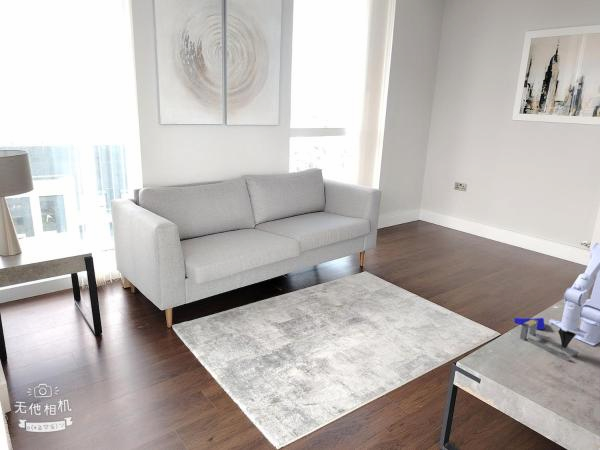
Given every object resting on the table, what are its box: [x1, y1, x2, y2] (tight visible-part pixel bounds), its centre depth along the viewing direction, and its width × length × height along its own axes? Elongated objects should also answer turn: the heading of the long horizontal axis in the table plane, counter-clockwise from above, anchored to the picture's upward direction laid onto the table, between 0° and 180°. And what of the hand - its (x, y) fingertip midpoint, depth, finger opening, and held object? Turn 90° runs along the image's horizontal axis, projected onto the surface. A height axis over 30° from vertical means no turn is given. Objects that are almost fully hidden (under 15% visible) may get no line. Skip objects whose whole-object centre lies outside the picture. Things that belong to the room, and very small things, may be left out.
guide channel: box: [527, 333, 579, 362], centre depth 178 cm, size 8×17×2 cm, turn 34°
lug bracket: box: [519, 318, 538, 341], centre depth 186 cm, size 9×2×8 cm, turn 124°
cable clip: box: [513, 317, 546, 330], centre depth 197 cm, size 12×4×6 cm
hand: (564, 346), depth 174 cm, fingers closed
